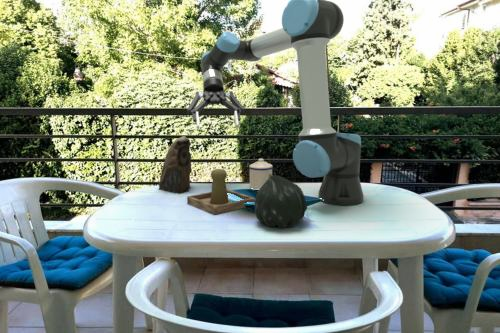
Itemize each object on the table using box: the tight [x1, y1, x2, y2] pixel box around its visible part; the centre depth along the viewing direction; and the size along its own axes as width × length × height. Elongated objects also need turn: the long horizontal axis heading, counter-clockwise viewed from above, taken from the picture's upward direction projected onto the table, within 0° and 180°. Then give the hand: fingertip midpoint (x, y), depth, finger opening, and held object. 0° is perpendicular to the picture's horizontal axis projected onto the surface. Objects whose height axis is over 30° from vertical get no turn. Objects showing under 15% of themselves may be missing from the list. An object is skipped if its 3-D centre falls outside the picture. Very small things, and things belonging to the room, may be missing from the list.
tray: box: [186, 188, 256, 216], centre depth 127 cm, size 16×16×2 cm
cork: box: [210, 168, 228, 205], centre depth 126 cm, size 6×6×11 cm
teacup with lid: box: [248, 158, 274, 189], centre depth 148 cm, size 12×9×12 cm
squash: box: [254, 174, 308, 229], centre depth 108 cm, size 14×15×15 cm
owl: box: [158, 135, 193, 194], centre depth 145 cm, size 13×13×20 cm
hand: (217, 127), depth 133 cm, fingers open, 13 cm apart
